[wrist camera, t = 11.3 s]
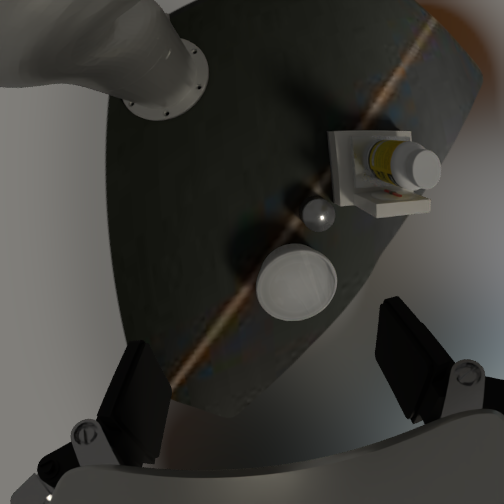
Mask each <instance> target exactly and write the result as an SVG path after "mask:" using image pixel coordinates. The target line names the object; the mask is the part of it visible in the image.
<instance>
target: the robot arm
mask: <svg viewBox="0 0 504 504" xmlns="http://www.w3.org/2000/svg"><path fill="white" fill-rule="evenodd" d="M194 52H197V53H196V54H194ZM208 78H209V67H208V63H207V60H206V58H205V56H204V54H203V53H202V51H201V50H200V49H199V48H198V47H197V46H196V45H195V44H193V43H191V42H190V41H188V40H184V39H181V38H180V37H179V35H178V34H177V32H176V31H175V29H174V27H173V26H172V24H171V23H170V17H169V14H167V13H164V11H163V10H162V8H161V7H160V6H159V5H158V4H157V3H156V2H155V1H154V0H0V87H7V88H11V87H12V88H17V87H19V88H22V87H33V86H41V85H49V84H60V83H63V84H73V85H78V86H82V87H86V88H90V89H93V90H96V91H100V92H102V93H106V94H109V95H112V96H115V97H118V98H121V99H123V102H124V104H125V105H126V106H127V108H128V109H129V110H130V111H131V112H132V113H134V114H135V115H137V116H139V117H141V118H144V119H148V120H153V121H163V120H168V119H172V118H175V117H177V116H180V115H181V114H183V113H185V112H187V111H188V110H189V109H190V108H192V107H193V106H194V105H195V104H196V103H197V102H198V101H199V99H200V98H201V96H202V95H203V93H204V91H205V89H206V86H207V84H208ZM199 86H201V89H198V87H199ZM133 103H134V105H133V106H132V104H133ZM167 112H169V115H168V116H167V115H166V113H167ZM375 357H376V360H377V362H378V364H379V366H380V368H381V370H382V372H383V374H384V375H385V377H386V379H387V381H388V383H389V385H390V387H391V389H392V391H393V393H394V395H395V397H396V398H397V401H398V403H399V405H400V407H401V409H402V411H403V413H404V415H405V417H406V418H407V419H411V421H412V423H413V424H415V423H418V422H420V421H422V420H423V421H424V424H425V425H423V426H420V427H418V428H416V429H413V430H410V431H408V432H405V433H402V434H400V435H397V436H395V437H392V438H389V439H386V440H383V441H380V442H377V443H374V444H371V445H368V446H365V447H361V448H358V449H354V450H350V451H347V452H343V453H339V454H335V455H331V456H327V457H323V458H318V459H313V460H308V461H302V462H297V463H290V464H284V465H277V466H269V467H260V468H250V469H237V470H236V469H235V470H171V469H155V468H144V467H142V465H143V463H148V464H154V463H155V458H157V457H159V453H160V448H161V442H162V438H163V433H164V428H165V423H166V418H167V414H168V409H169V404H170V400H171V395H172V389H171V386H170V384H169V382H168V380H167V378H166V376H165V375H164V373H163V371H162V369H161V367H160V365H159V363H158V361H157V359H156V357H155V355H154V353H153V351H152V349H151V347H150V345H149V344H148V343H145V342H144V341H143V340H138V341H130V342H129V343H128V345H127V347H126V350H125V352H124V354H123V356H122V358H121V360H120V363H119V365H118V367H117V369H116V371H115V374H114V376H113V378H112V380H111V383H110V386H109V387H108V390H107V392H106V394H105V397H104V399H103V402H102V404H101V406H100V409H99V411H98V414H97V416H98V417H97V419H96V421H95V420H93V419H85V420H82V421H80V422H79V423H77V424H76V425H75V426H74V428H73V429H72V431H71V442H70V443H68V444H66V445H64V446H62V447H61V448H59V449H57V450H55V451H54V452H52V453H50V454H48V455H46V456H45V457H43V458H42V459H41V460H40V462H39V464H38V468H37V472H38V474H37V475H36V474H35V473H34V474H33V475H32V476H31V477H30V478H29V479H28V480H27V481H26V482H25V483H24V484H22V486H21V487H20V488H19V489H17V490H16V491H15V492H14V493H13V495H12V497H11V500H10V501H11V504H504V380H500V379H496V378H491V377H486V376H485V371H484V369H483V367H482V366H481V365H480V364H479V363H477V362H476V361H473V360H469V359H467V360H466V359H464V360H460V361H458V362H456V363H455V362H454V361H453V360H452V358H451V357H450V356H449V355H448V353H447V352H446V351H445V350H444V348H443V347H442V346H441V344H440V343H439V342H438V341H437V339H436V338H435V337H434V336H433V335H432V333H431V332H430V331H429V330H428V329H427V327H426V326H425V325H424V324H423V323H421V322H420V321H419V319H418V318H417V317H416V316H415V315H414V314H413V312H412V311H411V310H410V309H409V308H408V307H407V305H406V304H405V303H404V302H403V301H402V300H401V299H400V298H399V297H398V296H395V297H392V298H388V299H385V300H384V302H383V304H381V305H380V311H379V322H378V332H377V340H376V348H375Z"/></svg>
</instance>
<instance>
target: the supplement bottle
mask: <svg viewBox="0 0 504 504" xmlns="http://www.w3.org/2000/svg"><path fill="white" fill-rule="evenodd" d="M367 165H368V168H369V170H370V172H371V174H372V175H373V176H374V177H376V178H377V179H379V180H381V181H384V182H387V183H390V184H393V185H395V186H398V187H401V188H404V189H407V190H418V189H420V188H423V189H430V188H433V187H434V186H435V185H436V184H437V183H438V181H439V179H440V176H441V164H440V161H439V159H438V157H437V156H436V154H435V153H433V152H432V151H430V150H426V149H425V148H424V147H423V146H422V145H420V144H418V143H416V142H411V141H398V140H380V141H377V142H375V143H374V144H373V145H372V146H371V147H370V149H369V151H368V154H367Z"/></svg>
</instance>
